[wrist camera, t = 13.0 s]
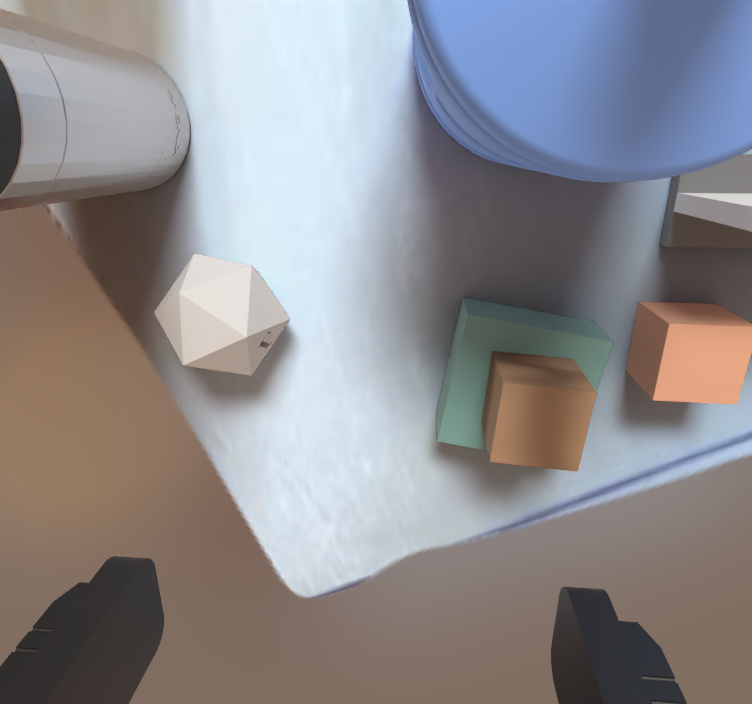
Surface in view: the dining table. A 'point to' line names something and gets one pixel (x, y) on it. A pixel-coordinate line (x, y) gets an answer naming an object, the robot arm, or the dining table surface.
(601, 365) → the base block
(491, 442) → the walnut block
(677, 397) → the terracotta block
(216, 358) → the die
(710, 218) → the placard
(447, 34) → the water jug
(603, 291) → the dining table surface
